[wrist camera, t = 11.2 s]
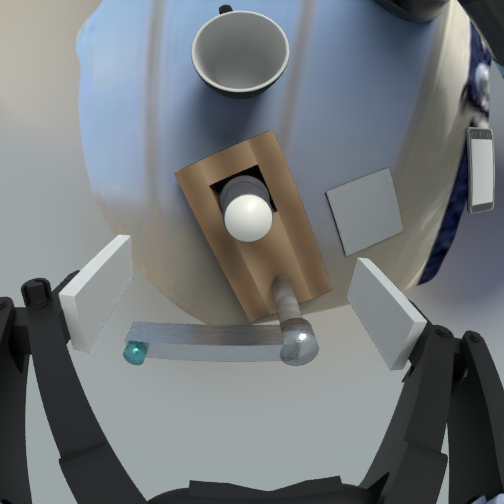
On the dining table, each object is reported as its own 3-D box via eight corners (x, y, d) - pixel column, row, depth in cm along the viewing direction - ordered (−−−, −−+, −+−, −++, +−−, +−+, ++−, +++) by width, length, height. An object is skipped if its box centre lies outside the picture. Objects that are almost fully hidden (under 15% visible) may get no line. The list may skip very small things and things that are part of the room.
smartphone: (492, 128, 31) (493, 209, 37) (488, 128, 32) (489, 207, 38) (467, 127, 31) (470, 214, 37) (463, 126, 32) (466, 212, 38)
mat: (387, 167, 35) (389, 167, 34) (402, 230, 38) (403, 231, 38) (325, 191, 36) (326, 191, 35) (345, 255, 40) (346, 256, 39)
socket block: (268, 130, 33) (286, 125, 20) (324, 276, 41) (356, 334, 28) (181, 169, 34) (148, 188, 21) (249, 306, 42) (253, 372, 30)
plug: (253, 164, 34) (264, 176, 22) (271, 201, 36) (290, 233, 24) (214, 182, 35) (205, 205, 23) (233, 219, 37) (233, 258, 25)
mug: (284, 97, 31) (301, 82, 22) (213, 113, 31) (203, 103, 22) (260, 18, 26) (267, -18, 17) (191, 33, 27) (175, 1, 18)
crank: (314, 316, 26) (324, 344, 23) (309, 344, 28) (317, 373, 24) (132, 314, 26) (118, 341, 22) (139, 342, 27) (128, 369, 23)
